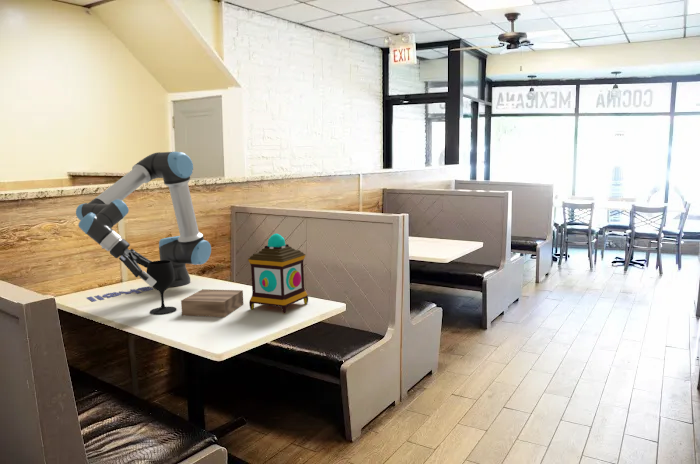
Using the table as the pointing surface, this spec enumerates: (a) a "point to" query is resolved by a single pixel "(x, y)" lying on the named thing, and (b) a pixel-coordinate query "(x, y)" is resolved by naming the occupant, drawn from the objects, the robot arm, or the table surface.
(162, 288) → the wine glass
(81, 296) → the table surface
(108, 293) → the signage
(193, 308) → the walnut block
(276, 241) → the decorative lantern
